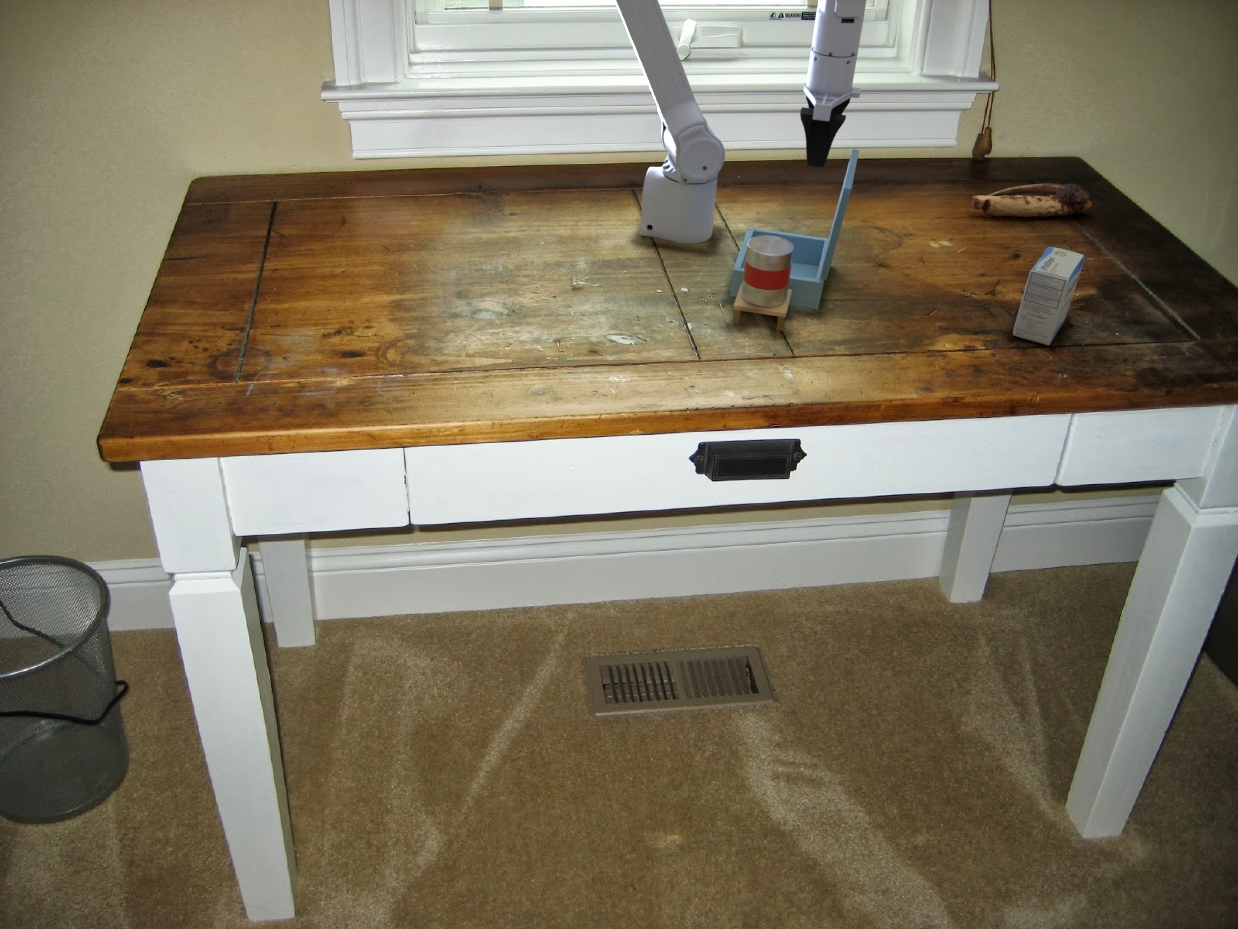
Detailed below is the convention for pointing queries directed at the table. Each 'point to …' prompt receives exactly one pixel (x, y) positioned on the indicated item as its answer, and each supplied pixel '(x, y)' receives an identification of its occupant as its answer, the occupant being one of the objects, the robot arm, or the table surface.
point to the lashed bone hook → (1035, 201)
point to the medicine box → (1048, 295)
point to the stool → (761, 309)
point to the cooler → (792, 267)
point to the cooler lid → (839, 214)
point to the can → (767, 271)
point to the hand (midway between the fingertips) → (817, 158)
